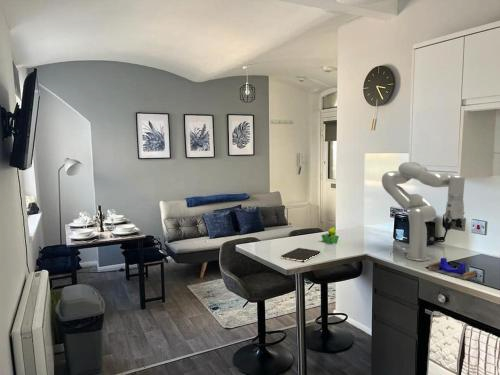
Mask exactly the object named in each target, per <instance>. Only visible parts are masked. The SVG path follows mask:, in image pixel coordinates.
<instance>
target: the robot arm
mask: <svg viewBox="0 0 500 375" xmlns="http://www.w3.org/2000/svg"><path fill="white" fill-rule="evenodd" d="M411 180H417V181H419V182H420V183H421V184H423V185H426V186H429V187H432V188H446V187H447V188H448V189H447V201H446V205H445V213H443V214H442V216H443V220H444V229H445V230H449V231H450V230H451V228H452V227H451V226H452V220H455V225H454V227H456V228H460V229H462V224H463V223H462V222H463V218H464V216H465V204H464V192H465V180H466V178H465V176H464V175H461V174H452V173H447V172H445V173H435V172H434V173H433V172H430V171H428V168H427V167H425V166H422V165H421V164H420V163H419V162H416V161H409V162H408V161H406V162H403V163H401V164H400V165H398V170H392V171H386V172H385V173H384V174H383V175H382V177H381V186H382V187H383V189H384V190H385V192H387V194H388V195H389V196H391V197H392V199H393V200H394V201H395V202H396V203H397V204H398V205H399V206H400V207H401V209H403V210H405V211H409V212H408V215H407V216H408V222H409V245H408V246H409V247H408V248H409V249H408V248H405V249H404V250H403V253H407V254H406V256H405V257H406V259H408V260H411V261H417V262H426V261H429V259H430V256H428V255H427V238H428V236H427V235H428V230H427V225H426V222H427V223H428V222H431V221H432V222H433V220H435V219H436V218H437V211H436V209H435V208H434V206H433V205H431V203H429V201H428V200H426V198H424V197H423V196H422V195H421V194H417V193H408V192H407V191H406V190H405V189H404V188H403V187H402V186H400V185H401V184H406V183H408V182H409V181H411Z"/></svg>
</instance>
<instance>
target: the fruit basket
mask: <svg viewBox="0 0 500 375" xmlns="http://www.w3.org/2000/svg"><path fill="white" fill-rule="evenodd" d="M327 231H328V233H323V234H321V238H322V241H323V243H326V242H328V243H327V244H329V243H331V244H330V245H334V244H333V243H335V244H338V241H339V238H340V236H339V235H336V233H337V229H336V227H335V226H331V227H330V228H329V229H328V230H327Z"/></svg>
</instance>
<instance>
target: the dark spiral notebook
mask: <svg viewBox="0 0 500 375" xmlns="http://www.w3.org/2000/svg"><path fill="white" fill-rule="evenodd" d="M319 253H320V254H321V250H316V249H309V248H303V247H297V248H295V249H292V250H291V251H287V252H286V253H284V254H281V255H280V257H283V258H289V259H296V260H303V261H304V260H306V259H309V258H310V257H312V256H315V255H317V254H319ZM320 254H319V255H320ZM317 256H318V255H317ZM315 257H316V256H315ZM309 260H310V259H309Z"/></svg>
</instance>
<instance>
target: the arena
mask: <svg viewBox="0 0 500 375" xmlns="http://www.w3.org/2000/svg"><path fill="white" fill-rule="evenodd" d="M440 262H441V261H437V262H434V263H430V264H428V266H427V267H428V268H427V270H428V271H431V272H433V273H437V274H441V275H445V276H448V277H452V278H456V279H458V278H459V280H463V281H468V280H469V279H472V278H476V277H477V276H478V275H477V273H478V271H477V270H475V269H474V270H471V271H470V270H469V271H468V272H467V271H465V273H464V274H463V275H460V274H456V273H453V272H450V273H449V272H445V271H442V270H439V264H440Z"/></svg>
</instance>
